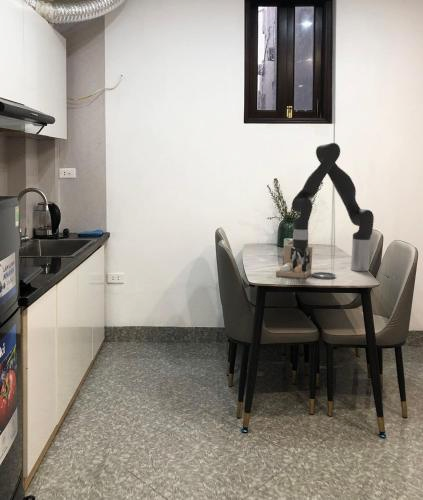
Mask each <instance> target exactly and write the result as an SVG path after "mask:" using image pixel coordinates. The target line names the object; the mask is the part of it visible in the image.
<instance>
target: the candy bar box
mask: <svg viewBox="0 0 423 500" xmlns="http://www.w3.org/2000/svg"><path fill="white" fill-rule="evenodd" d="M284 245H290V246H293V238H284V239H283V250H282V253H283V254H282V266H283V265H284Z"/></svg>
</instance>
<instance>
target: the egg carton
mask: <svg viewBox="0 0 423 500" xmlns="http://www.w3.org/2000/svg"><path fill="white" fill-rule="evenodd" d="M283 247H284V265H285V264H286V263H288V262H290V263H292V264H293V261H292V259H290V254H291V248H294V247H293V246H290V245H284V244H283ZM306 251H309V252H310V263H308V264H307V265H306V266H307V271H305V272H304V273H295V272H294V269H295V268H294V269H293V270H292V269H291V271H290V272H284V271H281V267H280V268H279V269H277V270H276V271H275V276H276V277H283V278H291V279H302V280H304V279H306V278H308V277H309V276H311V275H312V267H313V266H312V265H313V261H312V260H313V247H312V246H308V247H307V248H306ZM292 257H293V255H292ZM306 260H307V259H306ZM303 261H304V260H303ZM299 264H302V262H301V260H300V259H299V258H298V260H297V266H298V265H299Z"/></svg>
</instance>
